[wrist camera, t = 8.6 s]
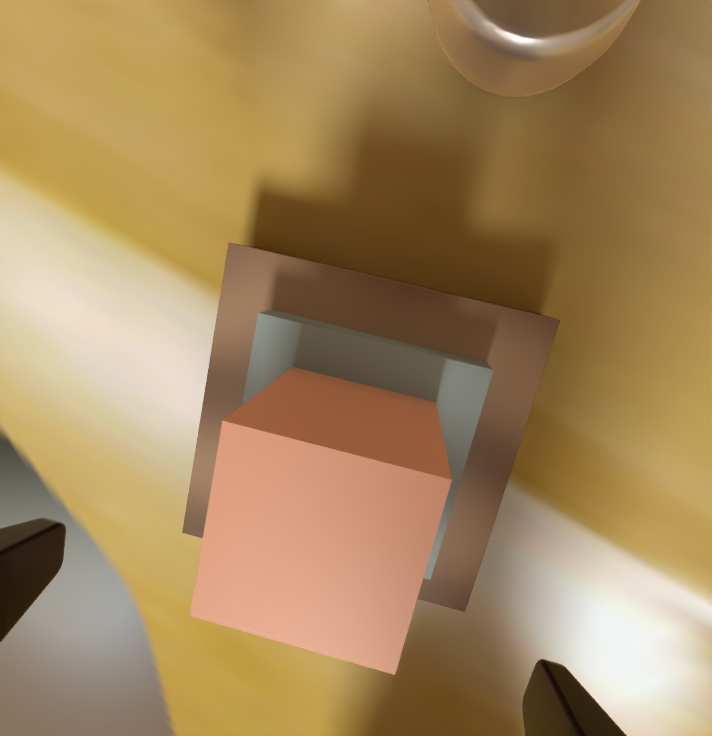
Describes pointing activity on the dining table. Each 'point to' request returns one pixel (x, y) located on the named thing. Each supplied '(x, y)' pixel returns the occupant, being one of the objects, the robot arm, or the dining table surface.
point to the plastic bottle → (526, 40)
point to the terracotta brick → (323, 517)
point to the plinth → (395, 318)
